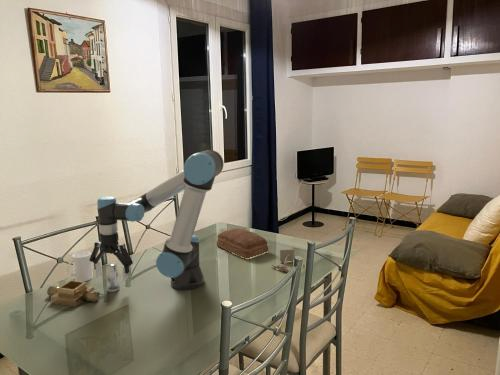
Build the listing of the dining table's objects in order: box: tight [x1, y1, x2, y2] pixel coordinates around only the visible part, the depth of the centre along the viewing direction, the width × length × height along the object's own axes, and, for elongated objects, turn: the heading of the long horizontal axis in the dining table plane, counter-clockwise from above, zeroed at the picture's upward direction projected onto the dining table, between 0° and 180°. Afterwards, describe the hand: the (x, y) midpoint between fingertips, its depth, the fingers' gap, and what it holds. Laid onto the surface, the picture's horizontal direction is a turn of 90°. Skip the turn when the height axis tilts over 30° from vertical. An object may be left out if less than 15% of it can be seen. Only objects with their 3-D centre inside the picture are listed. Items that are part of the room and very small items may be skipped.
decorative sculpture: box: [271, 248, 295, 273], centre depth 195 cm, size 16×10×7 cm, turn 161°
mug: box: [66, 250, 94, 282], centre depth 181 cm, size 12×8×12 cm
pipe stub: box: [105, 262, 121, 294], centre depth 170 cm, size 5×5×12 cm
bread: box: [216, 227, 269, 258], centre depth 218 cm, size 17×29×11 cm, turn 40°
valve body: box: [46, 279, 101, 308], centre depth 163 cm, size 23×12×6 cm, turn 75°
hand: (112, 278), depth 170 cm, fingers open, 13 cm apart
